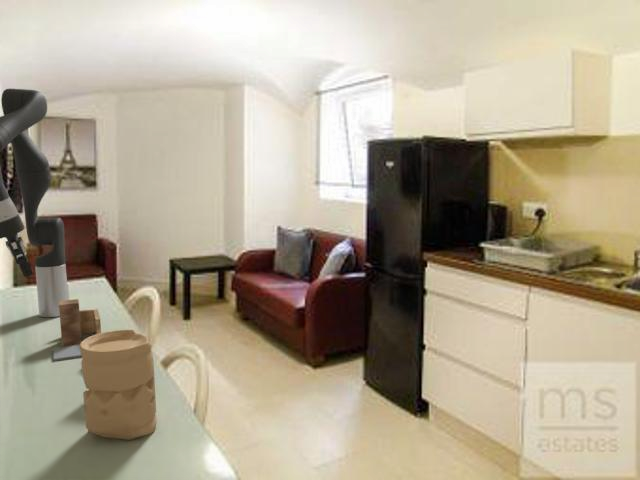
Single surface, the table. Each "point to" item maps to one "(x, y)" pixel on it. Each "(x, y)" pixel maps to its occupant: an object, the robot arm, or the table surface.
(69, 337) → the plate
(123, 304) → the table surface
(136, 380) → the container
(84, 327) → the shelf end
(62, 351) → the mat
